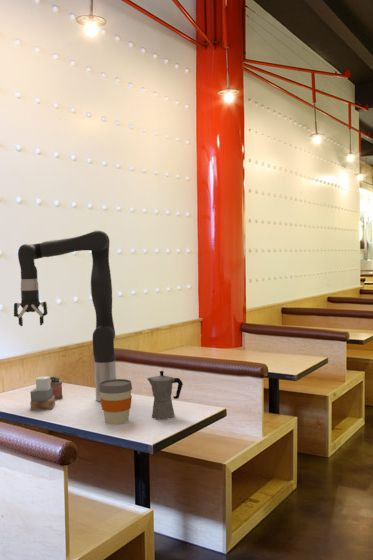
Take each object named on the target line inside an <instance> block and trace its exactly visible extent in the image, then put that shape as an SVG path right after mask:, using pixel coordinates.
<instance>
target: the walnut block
mask: <svg viewBox="0 0 373 560" xmlns="http://www.w3.org/2000/svg"><path fill="white" fill-rule="evenodd" d="M29 404H30V411H42V410H43V411H45V410H47V411H48V410H53V409H54V407H55V405H56V399H55V396H53V397H52V398H50V399H49V400H48V401H31V400H30V403H29Z"/></svg>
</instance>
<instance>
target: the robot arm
mask: <svg viewBox="0 0 373 560" xmlns="http://www.w3.org/2000/svg"><path fill="white" fill-rule="evenodd" d="M17 250H18V251H17V256H18V263H19V268H20V279H21V280H20V297H21V302H19V303H18V302H14V304H13V316H14V317H16V318H18V325H19V326H20V327H23V324H24V323H23V322H24V321H23V320H24V319H23V316H24V314H25V313H36V314H38V315H39V326H43V324H44V322H45V321H44V320H45V319H44V317H45V316H47V315H48V306H47V304H48V303H47V301H43V302H41V301H40V293H39V281H38V268H37V266H36V265H35V260H39V259H43V258H49V257H50V258H52V257H56V256H62V255H65V254H66V255H67V254H69V253H70V254H71V253H74V252H80V251H90V252H91V258H92V268H91V275H90V294H91V298H92V299H91V300H92V304H93V307H94V311H95V318H96V319H95V329H94V331H93V332H92V353H93V359H94V360H93V361H94V379H95V380H94V381H95V400H96V401H97V402H101V400H100V398H101V393H100V391H99V388H100V383H101V382H103V381H106V380H112V379H117V369H116V366H117V365H116V353H115V337H116V330H115V323H114V319H113V284H112V275H111V268H110V256H109V255H110V237H109V235H108V233H106V232H105V231H102V230H97V229H96V230H93V231H90V232H88V233H85V234H82V235H78V236H74V237H69V238H68V237H66V238H60V239H53V240H52V239H51V240H46V241H42V242H39V243H31V244H27V243H24V244H21V246H19V248H18V249H17ZM40 306H41V307H42V308H43V312H42V311H41V310H40ZM20 307H21V308H22V310H21V311H20V313H19V308H20Z"/></svg>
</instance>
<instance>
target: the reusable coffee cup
mask: <svg viewBox="0 0 373 560" xmlns="http://www.w3.org/2000/svg"><path fill="white" fill-rule="evenodd" d="M132 390H133V384H132V381H131V380H130V379H126V378H125V379H124V378H116V379H112V380H106V381H103V382H101V383H100V388H99V391H100V393H101V398H100V400H101V401H100V405H101V410H102V411H103V416H104V422H105V424H107V425H122V424H126V423H128V422H129V417H130V409H131V407H132V398H133V397H132Z"/></svg>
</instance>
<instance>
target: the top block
mask: <svg viewBox="0 0 373 560" xmlns="http://www.w3.org/2000/svg"><path fill="white" fill-rule="evenodd" d="M50 377H51V376H50V375H49V376H38V377H37V378H35V386H36V387H35V389H36V391H48V390H49V389H50V388H51V382H50Z"/></svg>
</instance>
